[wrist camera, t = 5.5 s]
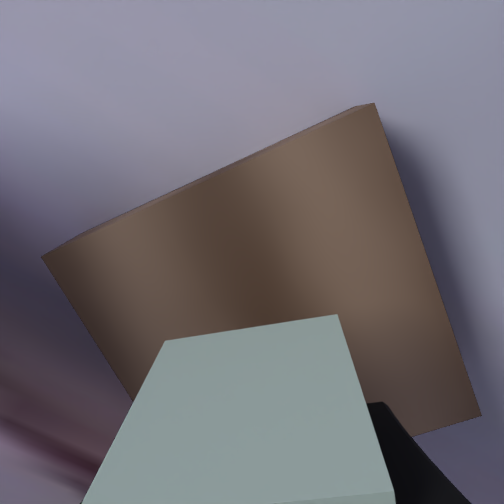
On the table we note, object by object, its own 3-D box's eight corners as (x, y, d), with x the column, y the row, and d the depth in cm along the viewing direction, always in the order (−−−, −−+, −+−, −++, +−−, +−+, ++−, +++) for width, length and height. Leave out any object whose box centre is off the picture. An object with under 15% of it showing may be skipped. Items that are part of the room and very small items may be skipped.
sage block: (205, 473, 12) (156, 713, 7) (164, 340, 10) (71, 522, 6) (359, 456, 11) (421, 702, 6) (337, 314, 10) (394, 491, 5)
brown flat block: (208, 446, 20) (196, 501, 17) (81, 233, 17) (40, 256, 14) (448, 368, 18) (481, 415, 15) (354, 106, 14) (374, 102, 12)
